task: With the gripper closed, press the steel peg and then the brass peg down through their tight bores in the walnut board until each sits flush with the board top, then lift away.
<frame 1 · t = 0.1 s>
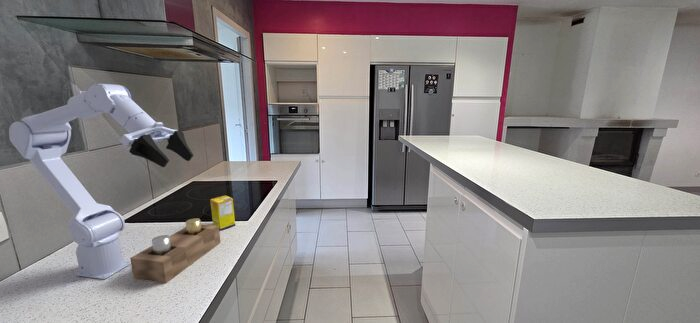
hand: (179, 160, 67), 32 cm above the worktop, tool tilted 50°, fingers open, 7 cm apart
supplement box: (224, 226, 107), on the worktop
brass peg: (194, 229, 89), point 7 cm above the worktop, slide at 0.0 cm
steel peg: (162, 247, 77), point 7 cm above the worktop, slide at 0.0 cm
walnut peg board: (182, 258, 84), on the worktop
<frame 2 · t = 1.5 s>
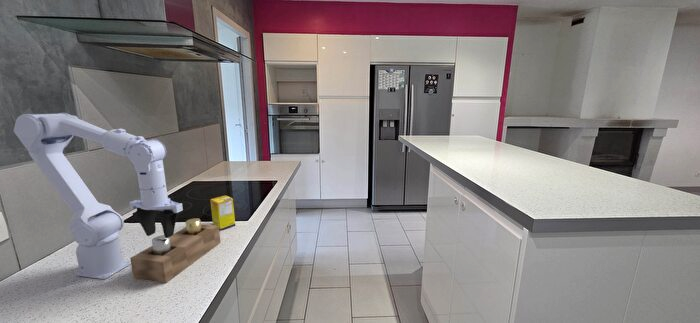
hand: (160, 235, 77), 10 cm above the worktop, tool pointing down, fingers open, 5 cm apart
nothing on the worktop moved.
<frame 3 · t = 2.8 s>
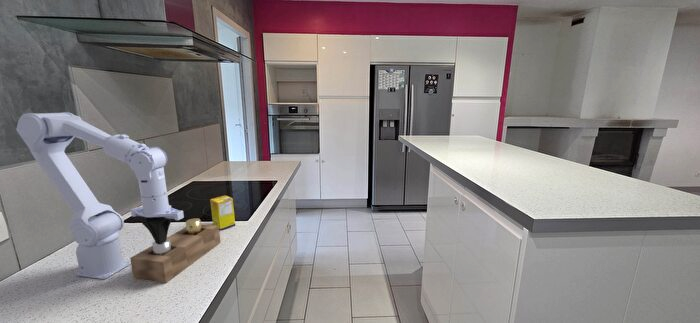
hand: (161, 242, 77), 8 cm above the worktop, tool pointing down, fingers closed, pressing on steel peg
steel peg: (162, 251, 78), point 6 cm above the worktop, slide at 1.1 cm, touching gripper
everything else where it was.
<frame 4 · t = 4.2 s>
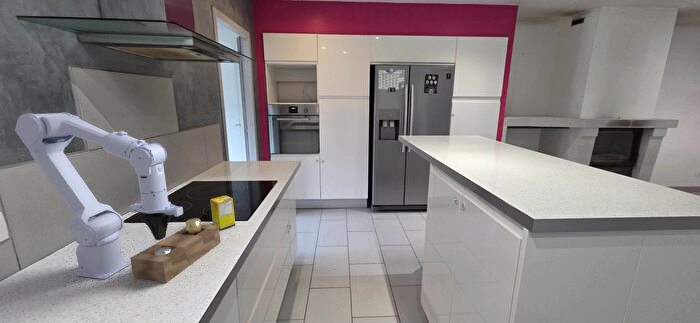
hand: (160, 238, 77), 9 cm above the worktop, tool pointing down, fingers closed
steel peg: (163, 259, 78), point 3 cm above the worktop, slide at 3.7 cm
everything else where it was.
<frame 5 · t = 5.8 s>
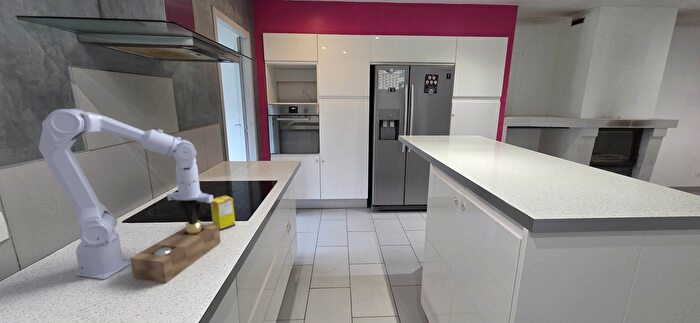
hand: (193, 222, 88), 9 cm above the worktop, tool pointing down, fingers closed, pressing on brass peg
brass peg: (194, 230, 89), point 6 cm above the worktop, slide at 0.7 cm, touching gripper
everything else where it was.
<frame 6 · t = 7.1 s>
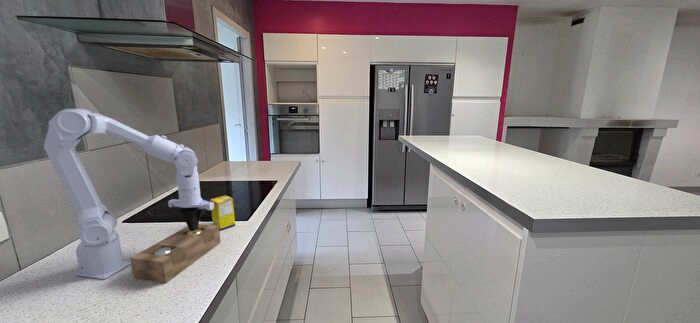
hand: (193, 229, 89), 7 cm above the worktop, tool pointing down, fingers closed
brass peg: (195, 239, 90), point 3 cm above the worktop, slide at 3.7 cm
everything else where it was.
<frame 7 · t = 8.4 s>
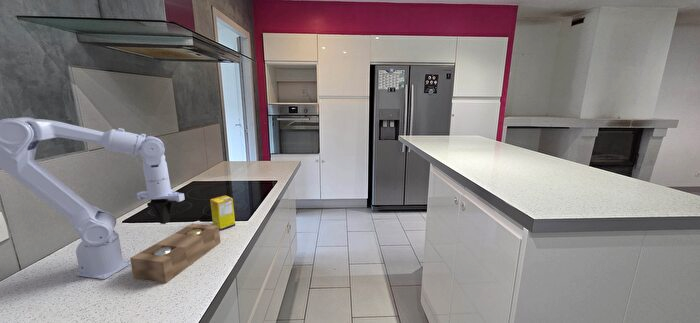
hand: (165, 222, 85), 10 cm above the worktop, tool pointing down, fingers closed
nothing on the worktop moved.
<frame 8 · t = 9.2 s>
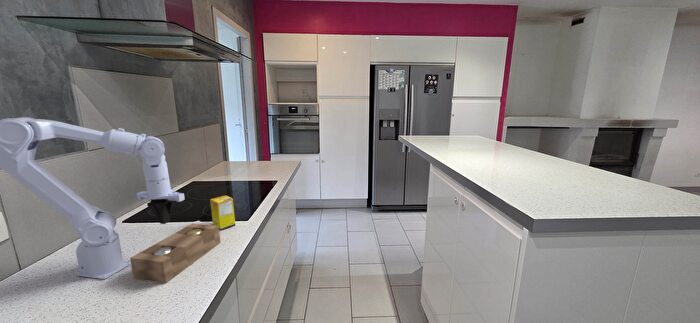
hand: (165, 222, 85), 10 cm above the worktop, tool pointing down, fingers closed
nothing on the worktop moved.
at the end: steel peg slide at 3.7 cm; brass peg slide at 3.7 cm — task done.
